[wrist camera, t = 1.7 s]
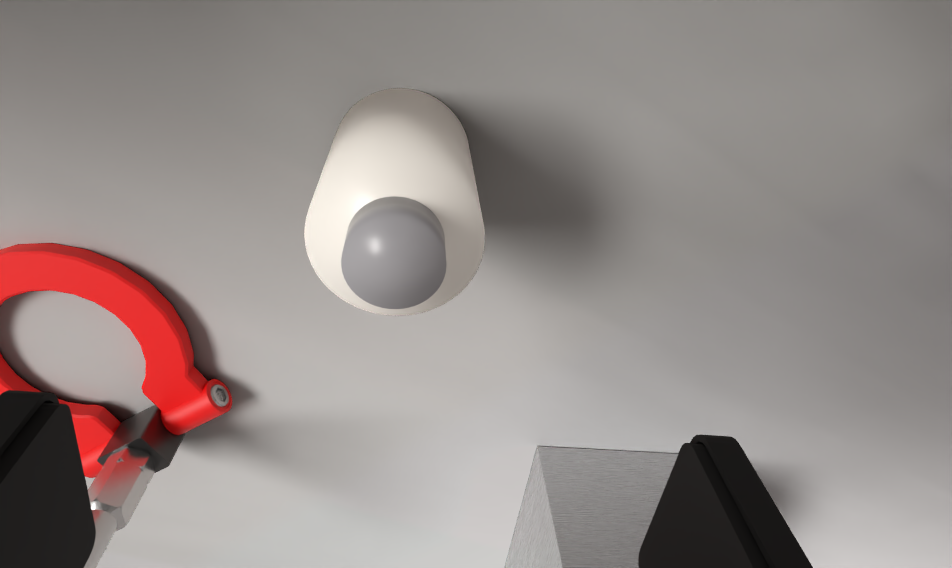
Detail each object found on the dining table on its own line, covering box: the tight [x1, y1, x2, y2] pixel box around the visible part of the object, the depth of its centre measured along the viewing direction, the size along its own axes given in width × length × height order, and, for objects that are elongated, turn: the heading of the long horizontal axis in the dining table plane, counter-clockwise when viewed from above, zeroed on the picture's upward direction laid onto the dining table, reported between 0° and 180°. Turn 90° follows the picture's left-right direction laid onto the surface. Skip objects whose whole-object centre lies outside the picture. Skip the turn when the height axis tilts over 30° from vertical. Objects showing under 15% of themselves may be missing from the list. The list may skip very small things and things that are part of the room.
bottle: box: [304, 88, 485, 316], centre depth 18 cm, size 4×4×7 cm
